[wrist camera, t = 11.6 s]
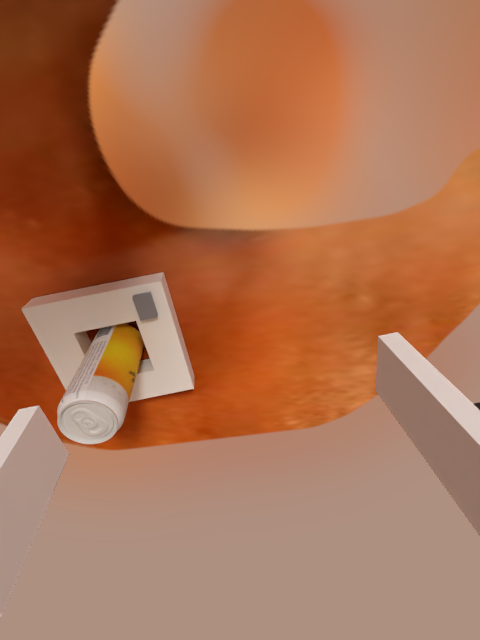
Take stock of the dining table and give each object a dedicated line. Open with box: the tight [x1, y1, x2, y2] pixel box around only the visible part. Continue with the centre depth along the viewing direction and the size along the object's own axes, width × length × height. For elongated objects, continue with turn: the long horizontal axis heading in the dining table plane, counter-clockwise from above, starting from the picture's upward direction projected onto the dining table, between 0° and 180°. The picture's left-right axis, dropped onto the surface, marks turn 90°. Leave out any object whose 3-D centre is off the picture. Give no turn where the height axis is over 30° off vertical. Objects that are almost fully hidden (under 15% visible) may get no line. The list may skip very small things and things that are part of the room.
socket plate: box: [21, 272, 194, 402], centre depth 42 cm, size 16×16×4 cm
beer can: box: [57, 323, 144, 444], centre depth 37 cm, size 6×6×15 cm
